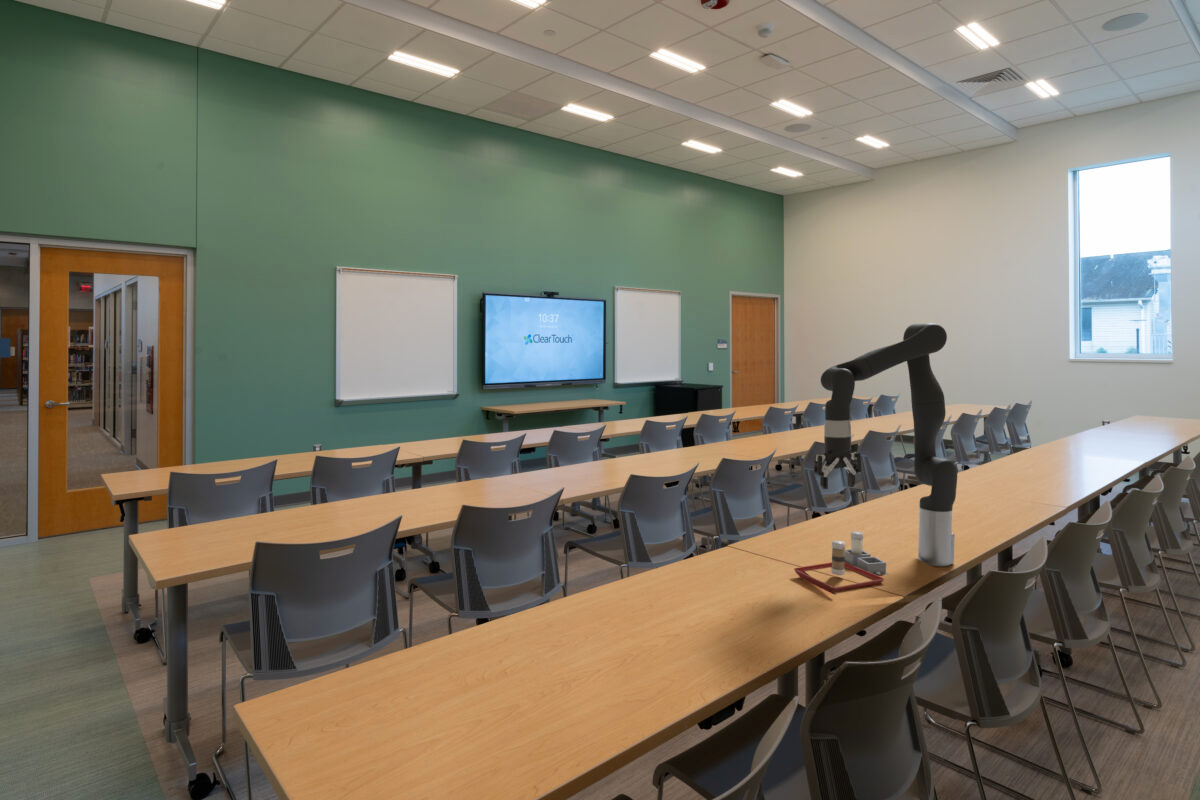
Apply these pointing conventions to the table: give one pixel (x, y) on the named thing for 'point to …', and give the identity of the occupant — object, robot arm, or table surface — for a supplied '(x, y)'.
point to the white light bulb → (856, 543)
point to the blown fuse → (838, 557)
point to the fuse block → (866, 562)
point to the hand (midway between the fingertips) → (837, 487)
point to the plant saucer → (827, 587)
